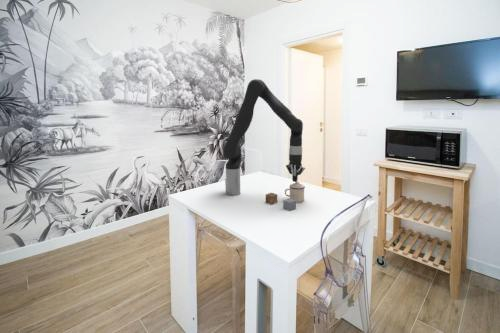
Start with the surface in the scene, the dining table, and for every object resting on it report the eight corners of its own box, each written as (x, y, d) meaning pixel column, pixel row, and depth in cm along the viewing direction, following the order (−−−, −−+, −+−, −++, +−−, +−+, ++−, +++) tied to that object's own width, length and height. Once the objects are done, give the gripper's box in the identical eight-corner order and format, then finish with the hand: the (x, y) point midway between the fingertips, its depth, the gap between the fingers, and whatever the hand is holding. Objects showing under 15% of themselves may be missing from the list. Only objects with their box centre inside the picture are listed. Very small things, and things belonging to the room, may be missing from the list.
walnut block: (265, 202, 163) (265, 194, 162) (271, 200, 166) (271, 192, 165) (271, 204, 160) (271, 196, 158) (277, 202, 163) (277, 194, 162)
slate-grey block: (283, 208, 153) (283, 200, 152) (288, 206, 156) (289, 198, 155) (289, 211, 149) (290, 202, 148) (295, 208, 153) (295, 200, 152)
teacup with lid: (302, 197, 171) (302, 179, 168) (305, 202, 162) (306, 183, 160) (283, 197, 171) (283, 179, 168) (285, 202, 162) (286, 184, 159)
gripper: (282, 152, 162) (282, 180, 166) (300, 155, 153) (299, 184, 156) (290, 151, 167) (290, 178, 171) (308, 153, 157) (307, 182, 161)
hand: (294, 181), depth 164 cm, fingers closed
